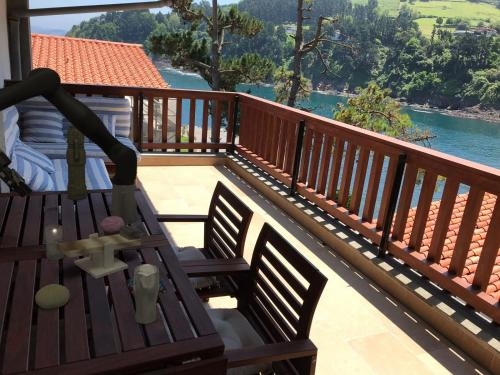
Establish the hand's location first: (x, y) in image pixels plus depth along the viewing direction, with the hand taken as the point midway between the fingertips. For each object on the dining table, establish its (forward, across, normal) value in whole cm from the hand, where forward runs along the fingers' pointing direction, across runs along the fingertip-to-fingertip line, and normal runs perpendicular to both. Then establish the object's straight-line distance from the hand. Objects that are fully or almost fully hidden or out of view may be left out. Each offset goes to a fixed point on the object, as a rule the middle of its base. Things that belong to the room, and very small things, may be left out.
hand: (27, 194), depth 154 cm
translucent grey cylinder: (+22, 0, +8) cm, 24 cm away
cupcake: (+33, +12, -8) cm, 36 cm away
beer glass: (+48, -42, -9) cm, 64 cm away
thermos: (+13, +66, -2) cm, 67 cm away
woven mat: (+46, -25, -11) cm, 54 cm away
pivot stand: (+34, -9, -3) cm, 35 cm away
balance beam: (+28, -10, -8) cm, 31 cm away
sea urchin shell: (+30, -31, +9) cm, 44 cm away
